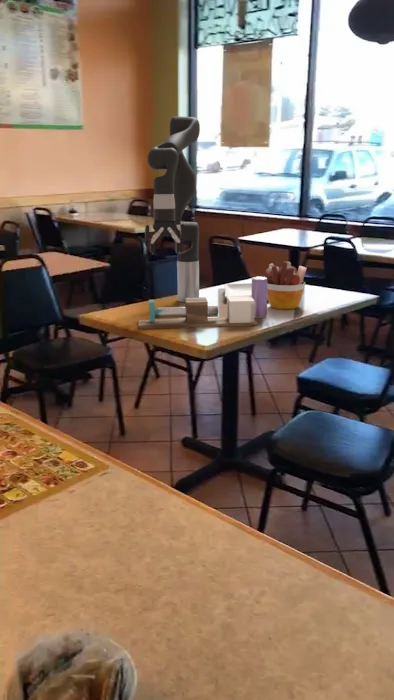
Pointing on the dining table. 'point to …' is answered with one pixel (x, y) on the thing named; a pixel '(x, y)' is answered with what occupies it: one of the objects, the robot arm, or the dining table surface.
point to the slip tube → (174, 311)
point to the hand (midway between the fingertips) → (165, 253)
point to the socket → (240, 309)
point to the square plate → (239, 290)
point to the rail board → (191, 318)
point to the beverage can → (260, 296)
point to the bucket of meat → (285, 286)
